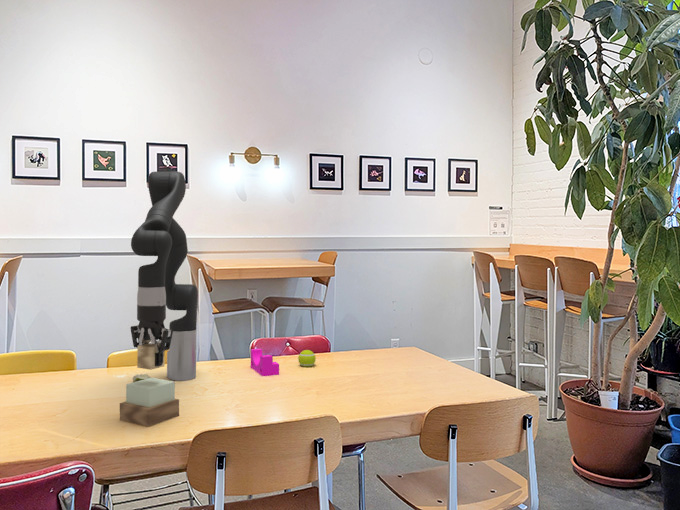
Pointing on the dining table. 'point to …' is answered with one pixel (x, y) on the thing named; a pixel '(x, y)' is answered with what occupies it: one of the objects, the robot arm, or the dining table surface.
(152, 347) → the oak block
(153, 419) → the tower base
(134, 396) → the pale green square block
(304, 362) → the tennis ball
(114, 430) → the dining table surface
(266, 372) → the toy block
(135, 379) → the fruit
